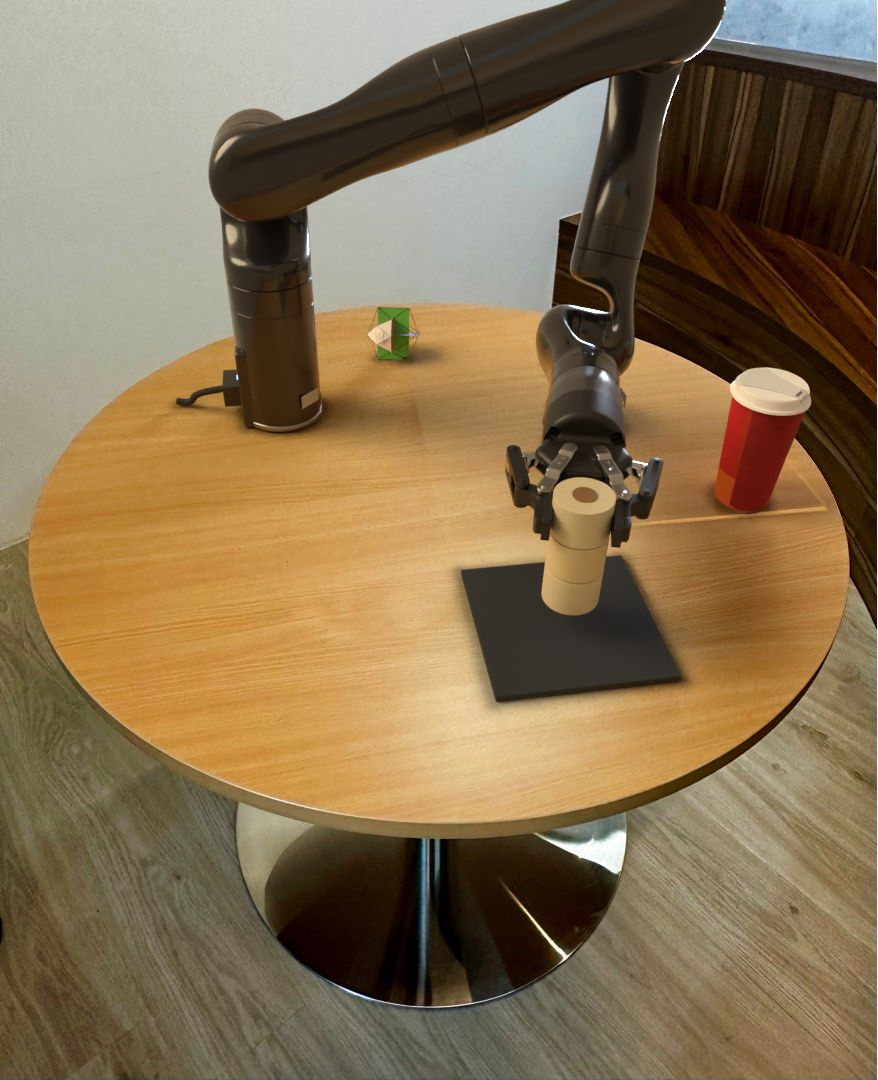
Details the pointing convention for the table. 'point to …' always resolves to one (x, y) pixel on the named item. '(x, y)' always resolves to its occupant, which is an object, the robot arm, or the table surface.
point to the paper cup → (759, 435)
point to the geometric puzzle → (392, 333)
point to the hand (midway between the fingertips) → (581, 535)
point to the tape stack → (577, 545)
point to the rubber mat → (564, 634)
